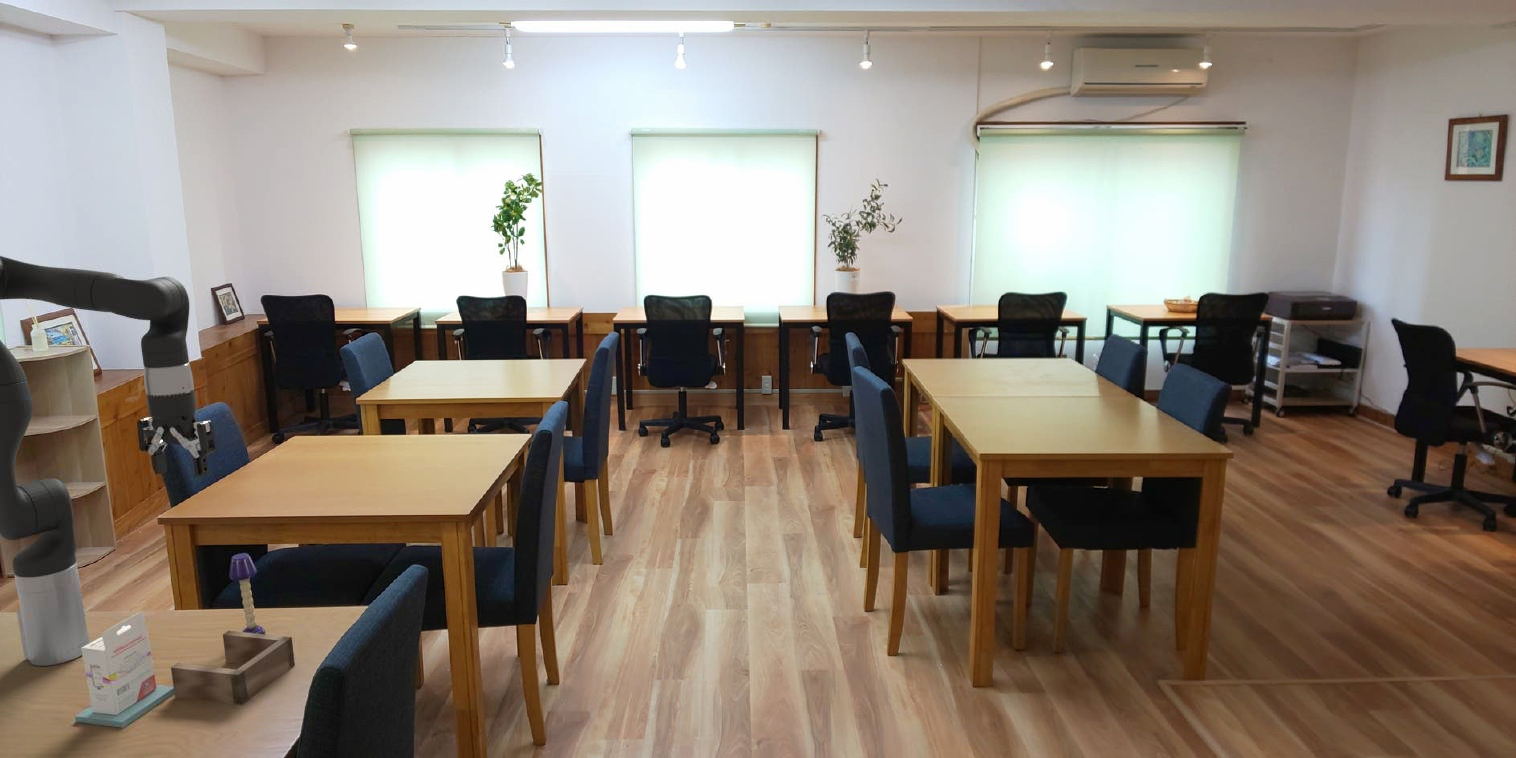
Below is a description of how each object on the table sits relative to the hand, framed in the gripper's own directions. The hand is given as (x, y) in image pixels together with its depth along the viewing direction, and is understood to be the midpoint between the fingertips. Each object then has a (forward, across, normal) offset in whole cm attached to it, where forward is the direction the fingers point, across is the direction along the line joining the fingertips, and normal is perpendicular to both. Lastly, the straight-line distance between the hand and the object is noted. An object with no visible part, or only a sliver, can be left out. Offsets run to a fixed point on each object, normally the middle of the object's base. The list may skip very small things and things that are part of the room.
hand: (181, 474), depth 178 cm
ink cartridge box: (+32, +5, -23) cm, 40 cm away
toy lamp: (+33, +8, +3) cm, 34 cm away
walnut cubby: (+33, +17, -12) cm, 39 cm away
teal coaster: (+33, +5, -23) cm, 41 cm away
